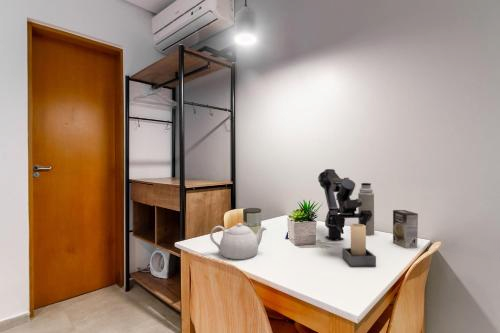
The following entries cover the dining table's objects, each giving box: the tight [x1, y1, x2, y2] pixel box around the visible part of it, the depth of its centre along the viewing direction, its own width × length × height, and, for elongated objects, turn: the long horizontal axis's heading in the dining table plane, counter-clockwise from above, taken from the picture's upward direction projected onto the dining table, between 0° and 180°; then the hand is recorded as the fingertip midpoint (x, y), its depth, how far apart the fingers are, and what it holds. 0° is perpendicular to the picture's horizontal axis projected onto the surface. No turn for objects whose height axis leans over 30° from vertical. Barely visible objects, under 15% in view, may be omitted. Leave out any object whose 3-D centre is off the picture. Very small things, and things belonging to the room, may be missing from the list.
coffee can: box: [242, 207, 262, 235], centre depth 147 cm, size 10×10×14 cm
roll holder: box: [341, 247, 377, 268], centre depth 106 cm, size 10×10×4 cm
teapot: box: [209, 222, 267, 260], centre depth 118 cm, size 19×18×14 cm
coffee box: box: [392, 209, 419, 249], centre depth 126 cm, size 9×6×16 cm
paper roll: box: [350, 223, 367, 256], centre depth 106 cm, size 6×6×14 cm
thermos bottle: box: [357, 182, 375, 236], centre depth 146 cm, size 8×8×28 cm
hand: (354, 233), depth 110 cm, fingers open, 9 cm apart
